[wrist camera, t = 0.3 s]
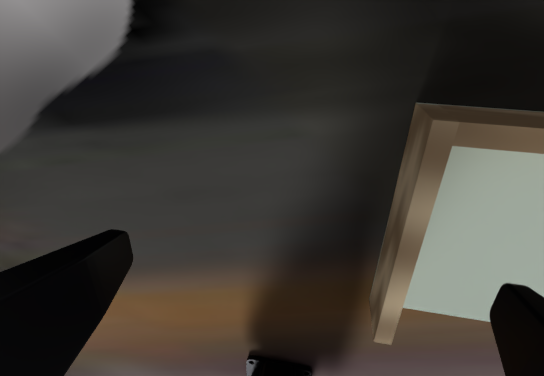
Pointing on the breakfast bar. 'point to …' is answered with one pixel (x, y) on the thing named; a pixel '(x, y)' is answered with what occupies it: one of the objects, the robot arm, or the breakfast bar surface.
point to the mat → (481, 232)
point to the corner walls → (435, 189)
